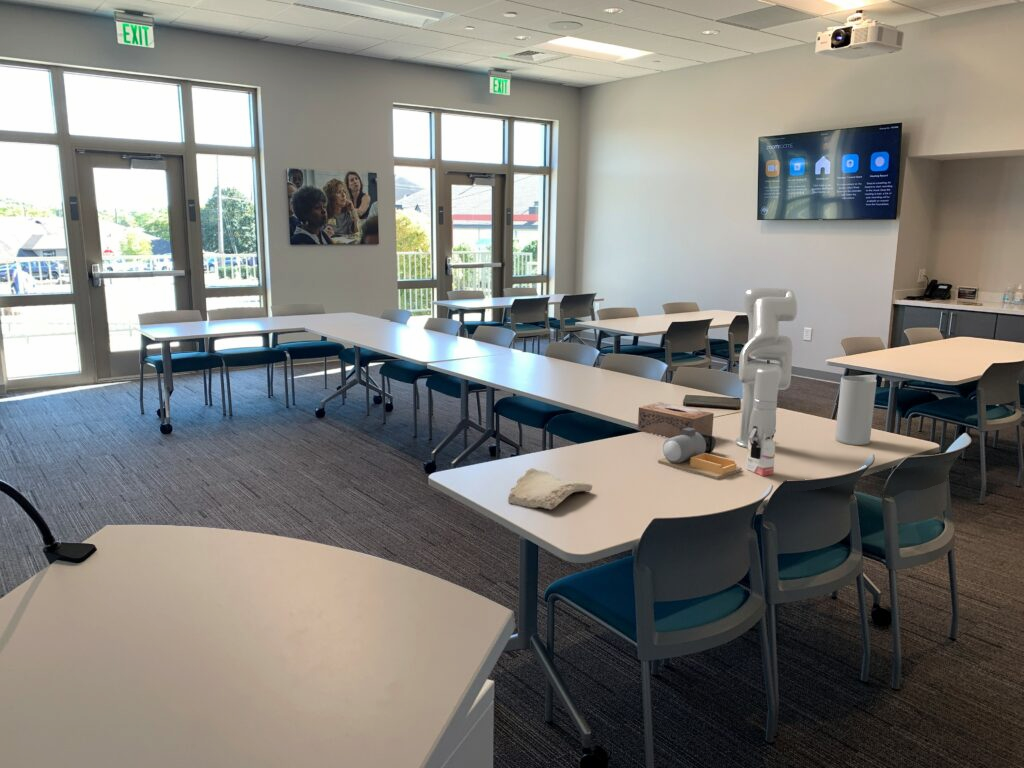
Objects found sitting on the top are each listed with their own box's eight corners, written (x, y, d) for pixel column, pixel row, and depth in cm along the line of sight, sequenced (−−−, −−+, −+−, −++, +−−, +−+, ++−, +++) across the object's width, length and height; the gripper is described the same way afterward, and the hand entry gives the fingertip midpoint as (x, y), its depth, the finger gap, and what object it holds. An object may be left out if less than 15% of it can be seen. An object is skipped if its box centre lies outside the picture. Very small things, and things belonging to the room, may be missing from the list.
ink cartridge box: (774, 474, 254) (777, 432, 251) (762, 476, 252) (765, 434, 249) (757, 467, 262) (760, 426, 259) (745, 468, 260) (748, 427, 257)
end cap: (715, 452, 280) (716, 435, 278) (705, 456, 275) (706, 438, 273) (691, 447, 287) (692, 429, 285) (681, 450, 282) (682, 433, 280)
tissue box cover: (712, 437, 301) (713, 413, 299) (692, 444, 291) (693, 418, 289) (658, 425, 319) (659, 402, 317) (637, 431, 309) (638, 407, 307)
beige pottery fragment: (497, 504, 227) (553, 513, 216) (496, 479, 227) (552, 487, 215) (542, 485, 247) (596, 493, 235) (541, 463, 246) (595, 469, 234)
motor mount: (683, 454, 276) (685, 423, 274) (741, 470, 259) (744, 437, 256) (657, 462, 266) (659, 430, 264) (716, 479, 249) (719, 445, 246)
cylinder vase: (861, 437, 303) (868, 376, 298) (875, 446, 291) (882, 382, 286) (830, 436, 303) (836, 375, 298) (842, 445, 291) (849, 381, 286)
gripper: (768, 398, 261) (764, 448, 265) (740, 406, 249) (736, 458, 253) (788, 402, 255) (783, 453, 259) (761, 410, 244) (757, 463, 248)
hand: (760, 455), depth 256 cm, fingers closed on ink cartridge box, 6 cm apart
